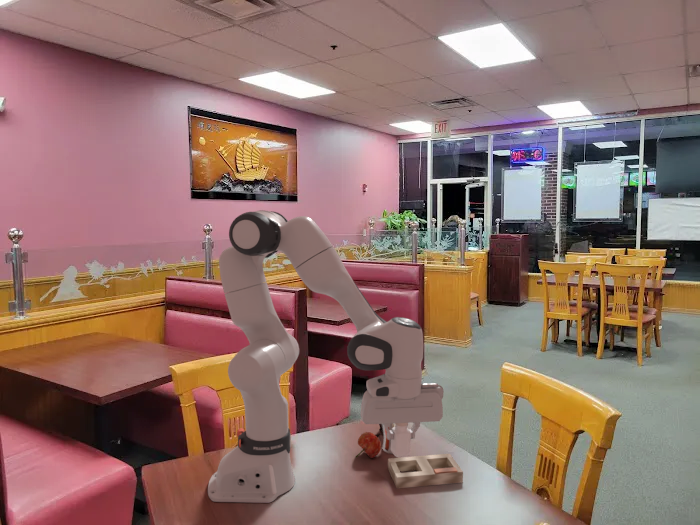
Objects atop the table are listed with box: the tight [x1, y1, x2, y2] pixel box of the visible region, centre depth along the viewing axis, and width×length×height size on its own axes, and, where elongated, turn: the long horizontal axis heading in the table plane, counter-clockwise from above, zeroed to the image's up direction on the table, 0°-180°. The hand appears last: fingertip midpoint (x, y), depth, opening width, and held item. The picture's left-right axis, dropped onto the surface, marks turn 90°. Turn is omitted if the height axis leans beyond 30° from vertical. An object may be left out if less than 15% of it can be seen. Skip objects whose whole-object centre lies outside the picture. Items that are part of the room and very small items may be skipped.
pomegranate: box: [355, 431, 382, 459], centre depth 151 cm, size 7×7×10 cm
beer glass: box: [381, 423, 395, 455], centre depth 154 cm, size 7×7×15 cm
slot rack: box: [387, 453, 464, 489], centre depth 140 cm, size 18×10×3 cm, turn 99°
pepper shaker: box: [391, 423, 412, 458], centre depth 127 cm, size 4×4×10 cm
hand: (400, 438), depth 127 cm, fingers closed on pepper shaker, 4 cm apart
